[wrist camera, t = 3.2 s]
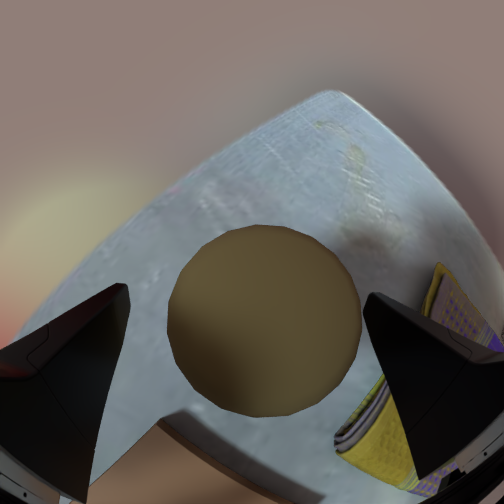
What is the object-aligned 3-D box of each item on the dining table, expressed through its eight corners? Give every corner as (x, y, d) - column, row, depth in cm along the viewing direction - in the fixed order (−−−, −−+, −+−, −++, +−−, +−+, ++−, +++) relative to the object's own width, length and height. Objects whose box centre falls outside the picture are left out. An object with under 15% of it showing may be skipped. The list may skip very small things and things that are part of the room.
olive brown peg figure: (215, 270, 17) (225, 151, 7) (300, 316, 17) (419, 260, 7) (167, 355, 15) (87, 362, 5) (257, 402, 14) (336, 478, 4)
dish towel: (451, 511, 11) (466, 516, 9) (312, 439, 14) (328, 451, 12) (517, 385, 17) (532, 384, 15) (427, 260, 21) (447, 248, 18)
